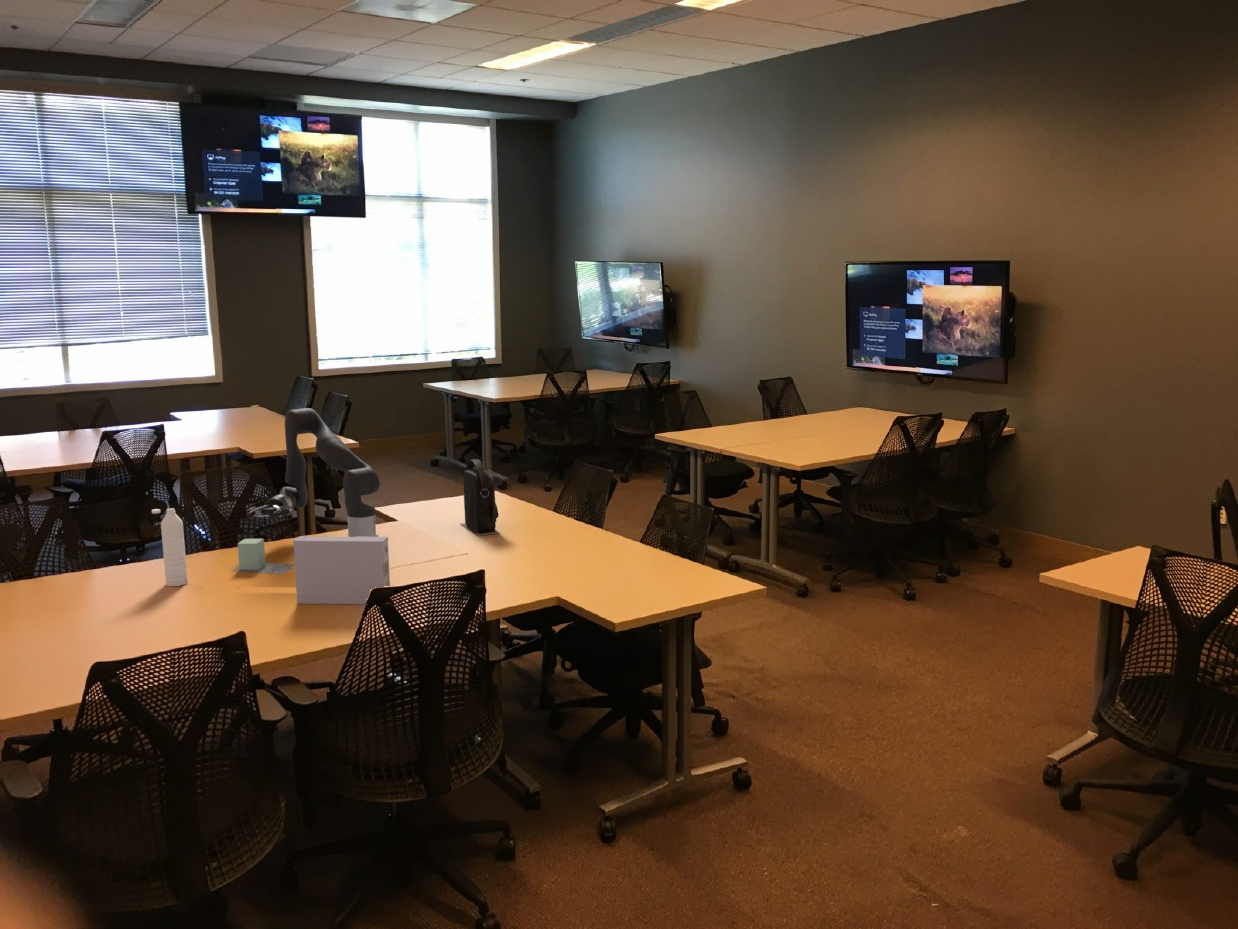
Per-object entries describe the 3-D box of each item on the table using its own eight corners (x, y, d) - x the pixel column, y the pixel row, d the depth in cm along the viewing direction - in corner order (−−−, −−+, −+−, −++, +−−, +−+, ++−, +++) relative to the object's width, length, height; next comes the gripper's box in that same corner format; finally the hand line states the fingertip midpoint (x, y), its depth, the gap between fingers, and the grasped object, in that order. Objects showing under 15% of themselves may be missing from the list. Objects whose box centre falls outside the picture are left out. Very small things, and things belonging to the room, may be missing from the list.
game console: (303, 598, 306) (299, 535, 302) (390, 599, 305) (388, 536, 301) (296, 604, 300) (292, 540, 296) (385, 605, 299) (383, 541, 295)
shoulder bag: (458, 524, 399) (456, 455, 394) (479, 521, 403) (478, 453, 398) (478, 536, 379) (476, 464, 374) (500, 533, 384) (499, 462, 378)
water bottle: (187, 579, 324) (181, 505, 319) (188, 585, 318) (182, 509, 314) (158, 583, 320) (151, 508, 316) (158, 588, 314) (151, 512, 310)
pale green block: (265, 564, 336) (263, 538, 335) (258, 569, 330) (256, 543, 328) (246, 564, 336) (244, 538, 335) (239, 569, 330) (237, 543, 328)
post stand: (298, 568, 336) (296, 544, 335) (281, 578, 326) (279, 553, 324) (249, 566, 340) (247, 542, 338) (231, 575, 329) (229, 550, 327)
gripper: (257, 496, 357) (240, 505, 341) (297, 495, 356) (281, 505, 340) (259, 516, 358) (242, 527, 342) (298, 516, 358) (283, 526, 342)
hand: (261, 516), depth 341 cm, fingers open, 8 cm apart
